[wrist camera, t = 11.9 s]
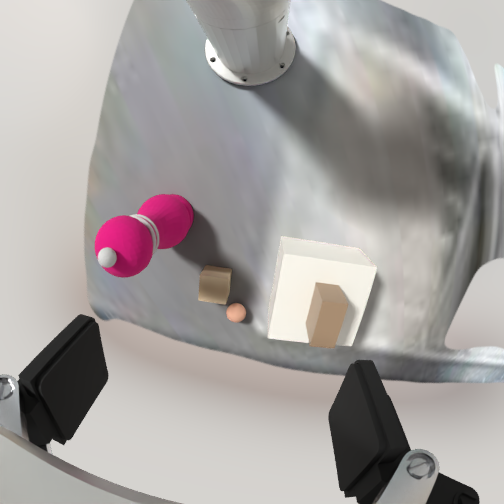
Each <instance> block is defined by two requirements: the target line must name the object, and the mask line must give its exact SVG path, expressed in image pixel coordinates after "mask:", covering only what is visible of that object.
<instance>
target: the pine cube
mask: <svg viewBox="0 0 504 504" xmlns="http://www.w3.org/2000/svg"><path fill="white" fill-rule="evenodd" d="M231 273H232V269H229V268H222V267H215V266H209V265H206V266H205V267H204V269H203V271H202V272H201V274H200V283H199V300H200V301H206V302H212V303H219V304H225V305H226V302H227V299H228V295H229V291H230V282H231Z"/></svg>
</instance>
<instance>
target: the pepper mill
mask: <svg viewBox="0 0 504 504" xmlns="http://www.w3.org/2000/svg"><path fill="white" fill-rule="evenodd" d="M193 218H194V214H193V210H192V207H191V205H190V203H189V202H188V201H187V200H186V199H185V198H183V197H182V196H179V195H175V194H171V195H165V194H162V195H156V196H154V197H152V198H150V199H149V200H147V201H146V202H145V203H144V204H143V205H142V206H141V208H140V209H139V211H138V213H137V214H134V215H130V216H117V217H114V218H112V219H110V220H108V221H107V222H106V223H105V224H104V225H103V226H102V227H101V228H100V229H99V231H98V233H97V236H96V240H95V253H96V256H97V259H98V261H99V263H100V265H101V266H102V267H103V268H104V269H105V270H106V271H107V272H108V273H110V274H112V275H114V276H117V277H131V276H134V275H136V274H138V273H140V272H141V271H142V270H144V269H145V268H146V267H147V265H148V264H149V262H150V260H151V258H152V255H153V254H154V253H155V252H156V250H157V249H167V248H171V247H174V246H175V245H177V244H179V243H180V242H181V241H182V240H183V239H184V238H185V236H186V235H187V233H188V230H189V229H190V227H191V225H192V223H193Z"/></svg>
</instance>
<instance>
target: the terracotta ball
mask: <svg viewBox="0 0 504 504" xmlns="http://www.w3.org/2000/svg"><path fill="white" fill-rule="evenodd" d="M226 314H227V317H228V319H229V320H230V321H232V322H240V321H242V320H243V319H244V318H245V316H246V310H245V308H244V306H242V305H241V304H239V303H234V304H231V305H230V306H229V307H228V308H227V311H226Z"/></svg>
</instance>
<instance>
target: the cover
mask: <svg viewBox="0 0 504 504" xmlns="http://www.w3.org/2000/svg"><path fill="white" fill-rule="evenodd" d="M376 271H377V266H376V265H375V264H374V263H373V262H372V261H371V260H370V259H369V258H368V257H367V256H366V255H365V254H364V253H363V252H362V251H361V249H360V248H354V247H348V246H342V245H336V244H330V243H323V242H317V241H310V240H304V239H297V238H291V237H284V236H281V239H280V245H279V251H278V257H277V263H276V269H275V274H274V280H273V286H272V291H271V297H270V302H269V308H268V338H270V339H278V340H287V341H296V342H306V343H309V345H310V346H312V347H324V348H334V347H335V345H341V346H352V344H353V341H354V339H355V336H356V333H357V330H358V328H359V325H360V322H361V319H362V316H363V313H364V310H365V307H366V304H367V301H368V298H369V294H370V291H371V288H372V285H373V281H374V278H375V274H376Z"/></svg>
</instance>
